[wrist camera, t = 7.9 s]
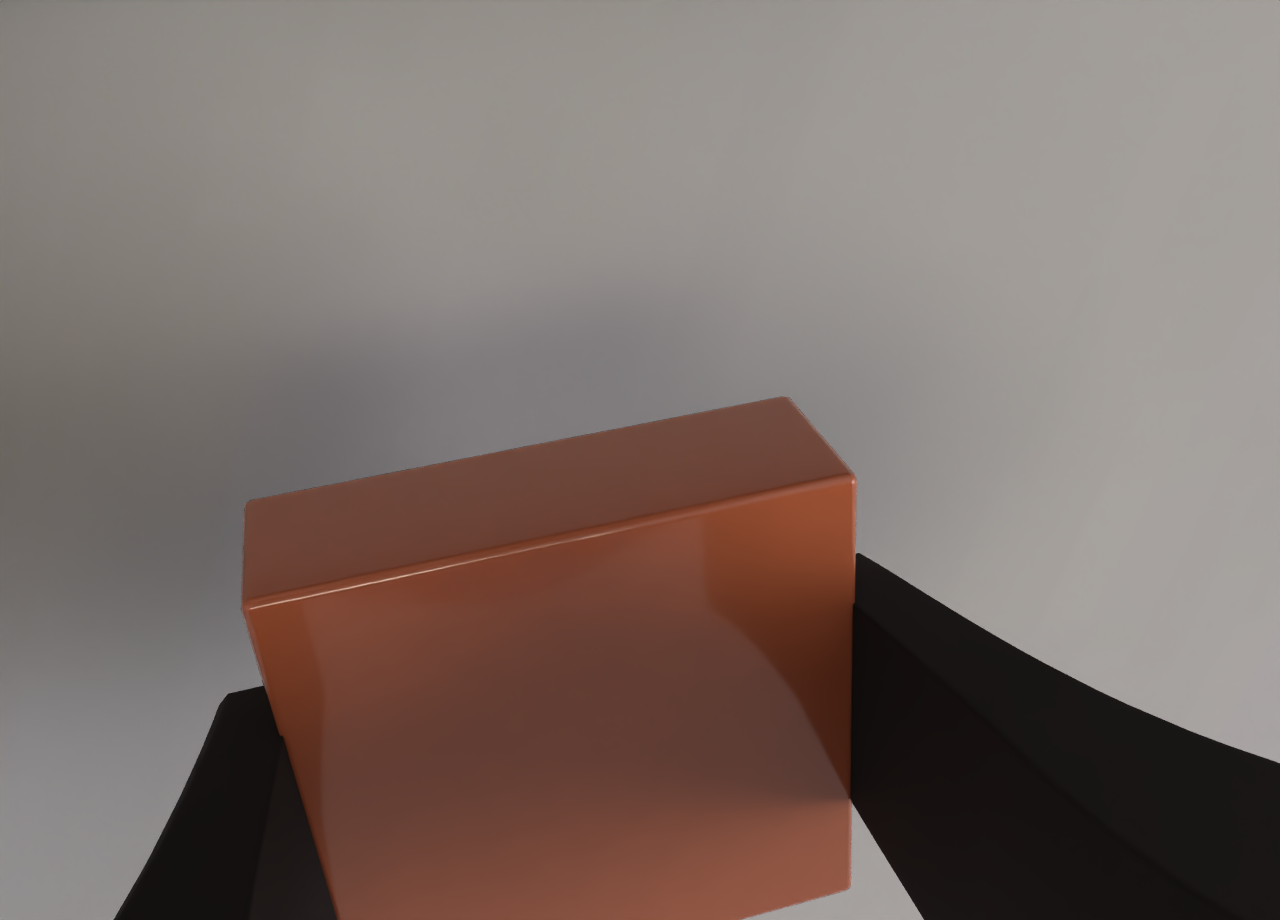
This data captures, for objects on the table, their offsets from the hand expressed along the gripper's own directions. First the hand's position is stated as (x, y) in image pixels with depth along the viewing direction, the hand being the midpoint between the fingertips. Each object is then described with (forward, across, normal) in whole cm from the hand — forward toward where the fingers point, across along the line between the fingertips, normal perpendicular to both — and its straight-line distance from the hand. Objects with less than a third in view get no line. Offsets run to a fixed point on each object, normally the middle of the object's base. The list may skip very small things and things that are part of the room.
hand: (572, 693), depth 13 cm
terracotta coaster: (+1, 0, 0) cm, 1 cm away
